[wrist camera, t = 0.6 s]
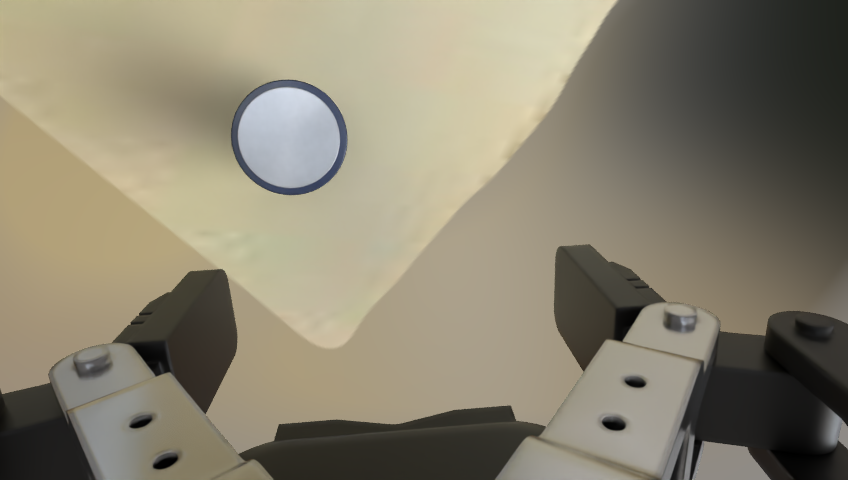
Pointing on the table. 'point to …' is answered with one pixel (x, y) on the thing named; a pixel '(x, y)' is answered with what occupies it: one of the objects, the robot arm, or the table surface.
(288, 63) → the table surface
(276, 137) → the drink can
